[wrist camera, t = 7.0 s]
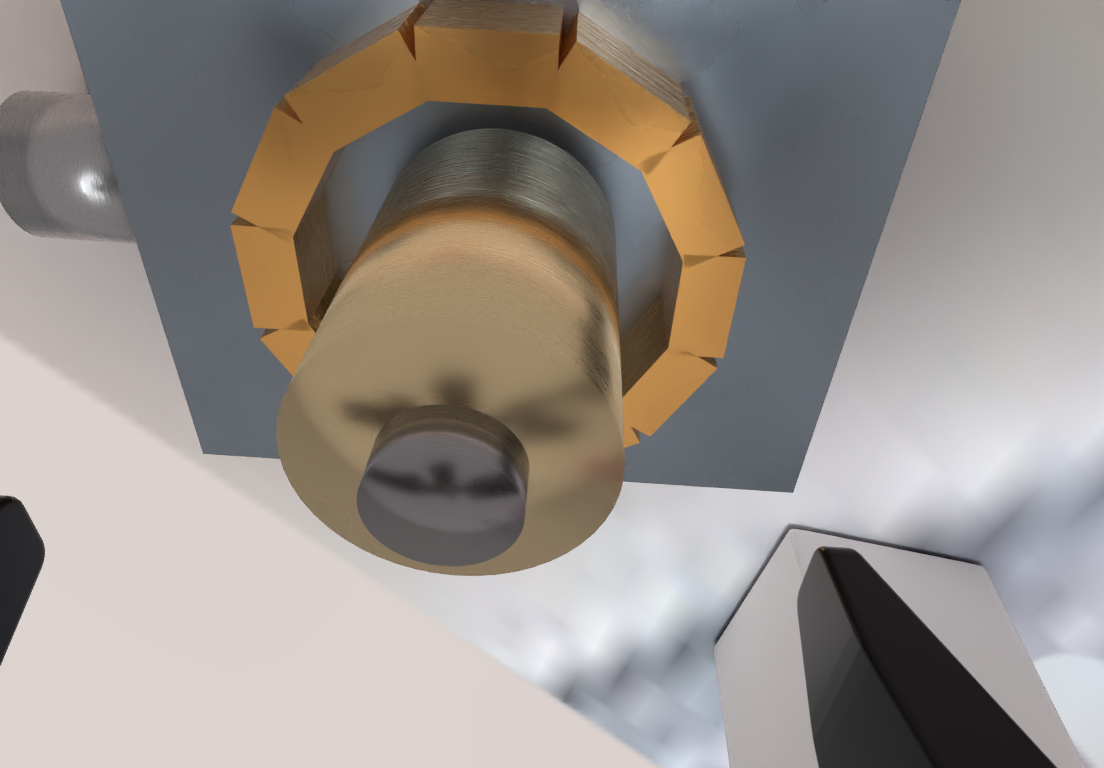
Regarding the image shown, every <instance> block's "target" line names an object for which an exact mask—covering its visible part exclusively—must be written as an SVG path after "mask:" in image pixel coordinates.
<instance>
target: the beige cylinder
mask: <svg viewBox="0 0 1104 768" xmlns="http://www.w3.org/2000/svg"><path fill="white" fill-rule="evenodd" d="M276 439H277V446H278V453H279V456H280V459H281V463H282V466H283V469H284V471H285V473H286V475H287V477H288V479H289V481H290V483H291V485H292V487H293V488H294V490H295V491H296V493H297V494H298V496H299V497H300V499H301V500H302V501H303V502H304V504H305V505H306V506H307V507H308V508H309V509H310V510H311V512H312V513H313V514H314V515H315V516H316V517H318V518H319V519H320V520H321V521H322V522H323V523H324V524H325V525H326V526H327V527H329V528H330V529H331V530H333V531H334V532H336V533H337V534H338V535H340V536H341V537H342V538H344V539H346V540H347V541H349V542H351V543H352V544H354V545H356V546H357V547H359V548H361V549H363V550H365V551H367V552H369V553H371V554H373V555H375V556H378V557H380V558H383V559H385V560H388V561H391V562H393V563H396V564H399V565H403V566H407V567H410V568H414V569H418V570H423V571H428V572H433V573H440V574H449V575H464V576H481V575H496V574H503V573H510V572H516V571H520V570H524V569H528V568H532V567H535V566H538V565H541V564H544V563H546V562H549V561H551V560H553V559H556V558H558V557H560V556H562V555H564V554H566V553H568V552H569V551H571V550H572V549H574V548H575V547H577V546H579V545H580V544H581V543H583V542H584V541H585V540H586V539H587V538H589V537H590V536H591V535H592V534H594V532H595V531H596V530H597V529H598V528H599V527H600V526H601V525H602V524H603V522H604V521H605V520H606V518H607V517H608V515H609V514H610V512H611V511H612V509H613V508H614V505H615V503H616V501H617V499H618V496H619V494H620V491H621V487H622V483H623V479H624V466H625V452H624V428H623V403H622V379H621V355H620V330H619V306H618V281H617V257H616V236H615V227H614V221H613V217H612V213H611V210H610V207H609V205H608V202H607V200H606V198H605V195H604V194H603V192H602V190H601V189H600V187H599V185H598V183H597V182H596V181H595V180H594V178H593V177H592V176H591V174H590V173H589V172H588V171H587V170H586V169H585V168H584V167H583V166H582V165H581V164H580V163H579V162H578V161H577V160H576V159H575V158H573V157H572V156H571V155H569V154H568V153H567V152H565V151H564V150H563V149H561V148H559V147H557V146H556V145H554V144H552V143H550V142H549V141H546V140H544V139H541V138H539V137H536V136H534V135H531V134H527V133H523V132H519V131H515V130H507V129H476V130H468V131H464V132H460V133H456V134H453V135H450V136H448V137H445V138H443V139H441V140H438V141H436V142H434V143H433V144H431V145H429V146H428V147H426V148H425V149H423V150H422V151H421V152H419V153H418V154H417V155H416V156H415V157H413V158H412V159H411V160H410V161H409V162H408V164H407V165H406V166H405V167H404V168H403V169H402V170H401V172H400V173H399V175H398V177H397V178H396V180H395V181H394V183H393V185H392V187H391V189H390V191H389V192H388V194H387V196H386V198H385V200H384V202H383V204H382V206H381V208H380V210H379V212H378V214H377V216H376V218H375V219H374V221H373V223H372V225H371V227H370V229H369V231H368V233H367V235H366V237H365V239H364V241H363V243H362V245H361V246H360V248H359V250H358V252H357V254H356V256H355V258H354V260H353V262H352V264H351V266H350V268H349V270H348V272H347V273H346V275H345V277H344V279H343V281H342V283H341V285H340V287H339V289H338V291H337V293H336V295H335V297H334V299H333V300H332V302H331V304H330V306H329V308H328V310H327V312H326V314H325V316H324V318H323V320H322V322H321V324H320V326H319V327H318V329H317V331H316V333H315V335H314V337H313V339H312V341H311V343H310V345H309V347H308V349H307V351H306V353H305V354H304V356H303V358H302V360H301V362H300V364H299V366H298V368H297V370H296V372H295V374H294V376H293V378H292V380H291V381H290V383H289V385H288V387H287V390H286V392H285V394H284V396H283V399H282V401H281V404H280V408H279V412H278V417H277V428H276Z"/></svg>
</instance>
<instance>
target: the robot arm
mask: <svg viewBox="0 0 1104 768" xmlns="http://www.w3.org/2000/svg"><path fill="white" fill-rule="evenodd" d="M44 557H45V547H44V543H43V540H42V538H41V537H40V535H39V533H38V531H37V529H36V527H35V526H34V524H33V522H32V520H31V518H30V516H29V514H28V513H27V511H26V509H25V507H24V505H23V504H22V503H21V501H20V500H18V499H16V498H15V497H12V496H0V665H1V663H2V661H3V658H4V656H5V654H6V651H7V649H8V646H9V644H10V642H11V639H12V637H13V635H14V632H15V630H16V627H17V625H18V622H19V620H20V618H21V615H22V613H23V611H24V608H25V606H26V603H27V601H28V599H29V597H30V594H31V592H32V589H33V587H34V585H35V582H36V580H37V577H38V575H39V573H40V570H41V568H42V565H43V562H44ZM797 613H798V622H799V630H800V638H801V647H802V655H803V664H804V672H805V680H806V689H807V697H808V705H809V714H810V722H811V729H812V736H813V742H814V747H815V752H816V757H817V762H818V766H819V768H1057V767H1056V766H1055V764H1054V763H1053V762H1052V761H1051V760H1050V759H1049V758H1048V757H1047V756H1046V755H1045V754H1044V753H1043V751H1042V750H1041V749H1040V748H1039V747H1038V746H1037V745H1036V744H1035V743H1034V742H1033V741H1032V740H1031V738H1030V737H1029V736H1028V735H1027V734H1026V733H1025V732H1024V731H1023V730H1022V729H1021V728H1020V726H1019V725H1018V724H1017V723H1016V722H1015V721H1014V720H1013V719H1012V718H1011V717H1010V716H1009V715H1008V713H1007V712H1006V711H1005V710H1004V709H1003V708H1002V707H1001V706H1000V705H999V704H998V703H997V702H996V700H995V699H994V698H993V697H992V696H991V695H990V694H989V693H988V692H987V691H986V690H985V689H984V687H983V686H982V685H981V684H980V683H979V682H978V681H977V680H976V679H975V678H974V677H973V675H972V674H971V673H970V672H969V671H968V670H967V669H966V668H965V667H964V666H963V665H962V664H961V662H960V661H959V660H958V659H957V658H956V657H955V656H954V655H953V654H952V653H951V652H950V651H949V649H948V648H947V647H946V646H945V645H944V644H943V643H942V642H941V641H940V640H939V639H938V637H937V636H936V635H935V634H934V633H933V632H932V631H931V630H930V629H929V628H928V627H927V626H926V624H925V623H924V622H923V621H922V620H921V619H920V618H919V617H918V616H917V615H916V614H915V613H914V611H913V610H912V609H911V608H910V607H909V606H908V605H907V604H906V603H905V602H904V601H903V600H902V598H901V597H900V596H899V595H898V594H897V593H896V592H895V591H894V590H893V589H892V588H891V586H890V585H889V584H888V583H887V582H886V581H885V580H884V579H883V578H882V577H881V576H880V575H879V573H878V572H877V571H876V570H875V569H874V568H873V567H872V566H871V565H870V564H869V563H868V562H867V560H866V559H865V558H864V557H863V556H862V555H861V554H860V553H859V552H857V551H856V550H854V549H852V548H845V547H829V546H822V547H819V548H817V549H816V550H815V551H814V553H813V555H812V558H811V560H810V563H809V565H808V568H807V571H806V573H805V576H804V578H803V581H802V583H801V586H800V589H799V592H798V597H797Z"/></svg>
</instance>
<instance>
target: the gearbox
mask: <svg viewBox="0 0 1104 768" xmlns="http://www.w3.org/2000/svg"><path fill="white" fill-rule="evenodd" d="M60 1H61V4H62V7H63V10H64V13H65V16H66V20H67V23H68V26H69V29H70V32H71V35H72V39H73V42H74V45H75V48H76V51H77V55H78V58H79V61H80V64H81V67H82V70H83V74H84V77H85V80H86V83H87V86H88V89H89V93H90V94H76V93H60V92H44V91H27V90H26V91H20V92H17V93H15V94H13V95H11V96H10V97H8V98H7V99H6V100H5V101H4V102H3V103H2V105H1V106H0V202H1V204H2V205H3V207H4V209H5V210H6V212H7V213H8V215H9V216H10V217H11V219H12V220H13V221H14V222H15V223H16V224H17V225H18V226H19V227H21V228H22V229H23V230H25V231H26V232H28V233H30V234H32V235H35V236H39V237H48V238H64V239H79V240H95V241H110V242H126V243H137V245H138V248H139V251H140V254H141V258H142V261H143V264H144V267H145V270H146V273H147V277H148V280H149V283H150V286H151V289H152V293H153V296H154V299H155V302H156V305H157V308H158V312H159V315H160V318H161V321H162V324H163V327H164V331H165V334H166V337H167V340H168V343H169V346H170V350H171V353H172V356H173V359H174V362H175V366H176V369H177V372H178V375H179V378H180V381H181V385H182V388H183V391H184V394H185V397H186V400H187V404H188V407H189V410H190V413H191V416H192V419H193V423H194V426H195V429H196V432H197V435H198V438H199V442H200V445H201V448H202V451H203V454H216V455H231V456H246V457H261V458H276V459H280V456H279V453H278V446H277V439H276V428H277V417H278V412H279V408H280V404H281V401H282V399H283V396H284V394H285V392H286V390H287V387H288V385H289V383H290V381H291V380H292V378H293V376H294V374H295V372H296V370H297V368H298V366H299V364H300V362H301V360H302V358H303V356H304V354H305V353H306V351H307V349H308V347H309V345H310V343H311V341H312V339H313V337H314V335H315V333H316V331H317V329H318V327H319V326H320V324H321V322H322V320H323V318H324V316H325V314H326V312H327V310H328V308H329V306H330V304H331V302H332V300H333V299H334V297H335V295H336V293H337V291H338V289H339V287H340V285H341V283H342V281H343V279H344V277H345V275H346V273H347V272H348V270H349V268H350V266H351V264H352V262H353V260H354V258H355V256H356V254H357V252H358V250H359V248H360V246H361V245H362V243H363V241H364V239H365V237H366V235H367V233H368V231H369V229H370V227H371V225H372V223H373V221H374V219H375V218H376V216H377V214H378V212H379V210H380V208H381V206H382V204H383V202H384V200H385V198H386V196H387V194H388V192H389V191H390V189H391V187H392V185H393V183H394V181H395V180H396V178H397V177H398V175H399V173H400V172H401V170H402V169H403V168H404V167H405V166H406V165H407V164H408V162H409V161H410V160H411V159H412V158H413V157H415V156H416V155H417V154H418V153H419V152H421V151H422V150H423V149H425V148H426V147H428V146H429V145H431V144H433V143H434V142H436V141H438V140H441V139H443V138H445V137H448V136H450V135H453V134H456V133H460V132H464V131H468V130H476V129H507V130H515V131H519V132H523V133H527V134H531V135H534V136H536V137H539V138H541V139H544V140H546V141H549V142H550V143H552V144H554V145H556V146H557V147H559V148H561V149H563V150H564V151H565V152H567V153H568V154H569V155H571V156H572V157H573V158H575V159H576V160H577V161H578V162H579V163H580V164H581V165H582V166H583V167H584V168H585V169H586V170H587V171H588V172H589V173H590V174H591V176H592V177H593V178H594V180H595V181H596V182H597V183H598V185H599V187H600V189H601V190H602V192H603V194H604V195H605V198H606V200H607V202H608V205H609V207H610V210H611V213H612V217H613V221H614V227H615V236H616V257H617V281H618V306H619V330H620V355H621V379H622V403H623V428H624V452H625V466H624V479H623V481H625V482H640V483H655V484H670V485H685V486H700V487H716V488H731V489H746V490H761V491H776V492H791V493H793V491H794V488H795V485H796V482H797V479H798V476H799V473H800V470H801V467H802V464H803V462H804V459H805V456H806V453H807V450H808V447H809V444H810V441H811V438H812V435H813V432H814V429H815V426H816V423H817V421H818V418H819V415H820V412H821V409H822V406H823V403H824V400H825V397H826V394H827V391H828V388H829V385H830V382H831V379H832V377H833V374H834V371H835V368H836V365H837V362H838V359H839V356H840V353H841V350H842V347H843V344H844V341H845V338H846V336H847V333H848V330H849V327H850V324H851V321H852V318H853V315H854V312H855V309H856V306H857V303H858V300H859V297H860V294H861V292H862V289H863V286H864V283H865V280H866V277H867V274H868V271H869V268H870V265H871V262H872V259H873V256H874V253H875V251H876V248H877V245H878V242H879V239H880V236H881V233H882V230H883V227H884V224H885V221H886V218H887V215H888V212H889V209H890V207H891V204H892V201H893V198H894V195H895V192H896V189H897V186H898V183H899V180H900V177H901V174H902V171H903V168H904V166H905V163H906V160H907V157H908V154H909V151H910V148H911V145H912V142H913V139H914V136H915V133H916V130H917V127H918V124H919V122H920V119H921V116H922V113H923V110H924V107H925V104H926V101H927V98H928V95H929V92H930V89H931V86H932V83H933V81H934V78H935V75H936V72H937V69H938V66H939V63H940V60H941V57H942V54H943V51H944V48H945V45H946V42H947V39H948V37H949V34H950V31H951V28H952V25H953V22H954V19H955V16H956V13H957V10H958V7H959V4H960V1H961V0H60Z"/></svg>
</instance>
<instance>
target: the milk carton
mask: <svg viewBox="0 0 1104 768" xmlns="http://www.w3.org/2000/svg"><path fill="white" fill-rule="evenodd" d="M822 546H829V547H845V548H852V549H854V550H856V551H857V552H859V553H860V554H861V555H862V556H863V557H864V558H865V559H866V560H867V562H868V563H869V564H870V565H871V566H872V567H873V568H874V569H875V570H876V571H877V572H878V573H879V575H880V576H881V577H882V578H883V579H884V580H885V581H886V582H887V583H888V584H889V585H890V586H891V588H892V589H893V590H894V591H895V592H896V593H897V594H898V595H899V596H900V597H901V598H902V600H903V601H904V602H905V603H906V604H907V605H908V606H909V607H910V608H911V609H912V610H913V611H914V613H915V614H916V615H917V616H918V617H919V618H920V619H921V620H922V621H923V622H924V623H925V624H926V626H927V627H928V628H929V629H930V630H931V631H932V632H933V633H934V634H935V635H936V636H937V637H938V639H939V640H940V641H941V642H942V643H943V644H944V645H945V646H946V647H947V648H948V649H949V651H950V652H951V653H952V654H953V655H954V656H955V657H956V658H957V659H958V660H959V661H960V662H961V664H962V665H963V666H964V667H965V668H966V669H967V670H968V671H969V672H970V673H971V674H972V675H973V677H974V678H975V679H976V680H977V681H978V682H979V683H980V684H981V685H982V686H983V687H984V689H985V690H986V691H987V692H988V693H989V694H990V695H991V696H992V697H993V698H994V699H995V700H996V702H997V703H998V704H999V705H1000V706H1001V707H1002V708H1003V709H1004V710H1005V711H1006V712H1007V713H1008V715H1009V716H1010V717H1011V718H1012V719H1013V720H1014V721H1015V722H1016V723H1017V724H1018V725H1019V726H1020V728H1021V729H1022V730H1023V731H1024V732H1025V733H1026V734H1027V735H1028V736H1029V737H1030V738H1031V740H1032V741H1033V742H1034V743H1035V744H1036V745H1037V746H1038V747H1039V748H1040V749H1041V750H1042V751H1043V753H1044V754H1045V755H1046V756H1047V757H1048V758H1049V759H1050V760H1051V761H1052V762H1053V763H1054V764H1055V766H1056V767H1057V768H1085V766H1084V764H1083V762H1082V760H1081V758H1080V756H1079V754H1078V752H1077V750H1076V748H1075V746H1074V744H1073V742H1072V740H1071V738H1070V736H1069V734H1068V732H1067V730H1066V728H1065V726H1064V724H1063V722H1062V721H1061V718H1060V716H1059V714H1058V713H1057V711H1056V708H1055V706H1054V704H1053V703H1052V701H1051V698H1050V696H1049V695H1048V693H1047V691H1046V688H1045V686H1044V685H1043V683H1042V680H1041V679H1040V677H1039V675H1038V673H1037V671H1036V669H1035V667H1034V665H1033V663H1032V661H1031V659H1030V657H1029V655H1028V653H1027V651H1026V649H1025V647H1024V645H1023V643H1022V641H1021V639H1020V637H1019V635H1018V633H1017V631H1016V629H1015V627H1014V625H1013V623H1012V621H1011V619H1010V617H1009V615H1008V613H1007V611H1006V609H1005V607H1004V605H1003V603H1002V601H1001V599H1000V597H999V595H998V593H997V591H996V589H995V587H994V585H993V583H992V581H991V579H990V577H989V575H988V573H987V571H986V570H985V569H984V568H983V567H982V566H979V565H975V564H970V563H965V562H961V561H956V560H951V559H946V558H941V557H936V556H931V555H926V554H921V553H916V552H911V551H906V550H901V549H896V548H891V547H886V546H881V545H876V544H871V543H866V542H861V541H856V540H851V539H846V538H841V537H836V536H831V535H826V534H821V533H816V532H811V531H806V530H800V529H790V530H789V531H788V533H787V534H786V536H785V538H784V539H783V541H782V542H781V544H780V545H779V547H778V548H777V550H776V551H775V553H774V555H773V556H772V558H771V559H770V561H769V562H768V564H767V565H766V567H765V569H764V570H763V572H762V573H761V575H760V576H759V578H758V580H757V581H756V583H755V584H754V586H753V587H752V589H751V590H750V592H749V594H748V595H747V597H746V598H745V600H744V601H743V603H742V605H741V606H740V608H739V609H738V611H737V612H736V614H735V616H734V617H733V619H732V620H731V622H730V623H729V625H728V627H727V628H726V630H725V631H724V633H723V634H722V636H721V638H720V639H719V641H718V642H717V644H716V645H715V647H714V655H715V663H716V670H717V677H718V684H719V692H720V699H721V706H722V714H723V721H724V728H725V735H726V743H727V750H728V757H729V765H730V768H819V766H818V762H817V757H816V752H815V747H814V742H813V736H812V729H811V722H810V714H809V705H808V697H807V689H806V680H805V672H804V664H803V655H802V647H801V638H800V630H799V622H798V613H797V597H798V592H799V589H800V586H801V583H802V581H803V578H804V576H805V573H806V571H807V568H808V565H809V563H810V560H811V558H812V555H813V553H814V551H815V550H816V549H817V548H819V547H822Z"/></svg>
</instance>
